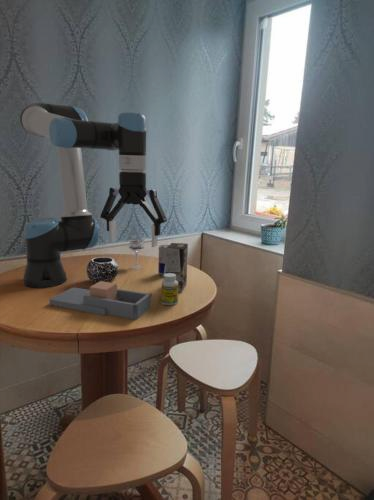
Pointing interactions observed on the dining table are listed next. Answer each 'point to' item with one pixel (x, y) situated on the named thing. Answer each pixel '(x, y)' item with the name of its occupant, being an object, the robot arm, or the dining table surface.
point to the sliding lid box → (105, 302)
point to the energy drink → (162, 260)
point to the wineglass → (136, 249)
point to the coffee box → (177, 263)
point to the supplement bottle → (169, 289)
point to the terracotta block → (104, 290)
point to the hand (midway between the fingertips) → (133, 244)
